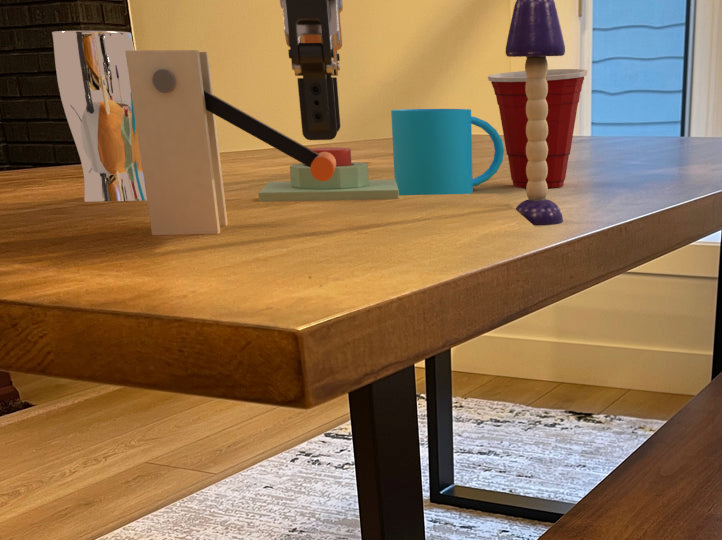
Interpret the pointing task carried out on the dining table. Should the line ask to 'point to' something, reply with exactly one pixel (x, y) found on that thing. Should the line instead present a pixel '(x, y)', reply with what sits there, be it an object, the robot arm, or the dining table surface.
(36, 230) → the dining table surface
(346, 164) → the button
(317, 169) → the lever
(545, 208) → the toy lamp
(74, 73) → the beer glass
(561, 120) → the plastic cup
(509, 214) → the dining table surface
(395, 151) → the mug
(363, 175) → the button box
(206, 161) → the bracket
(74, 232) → the dining table surface
